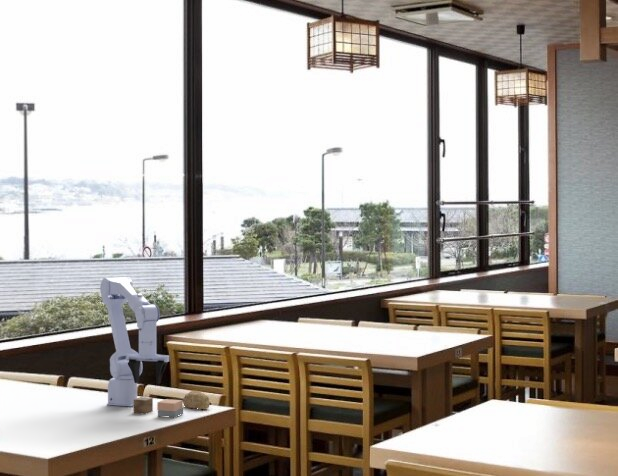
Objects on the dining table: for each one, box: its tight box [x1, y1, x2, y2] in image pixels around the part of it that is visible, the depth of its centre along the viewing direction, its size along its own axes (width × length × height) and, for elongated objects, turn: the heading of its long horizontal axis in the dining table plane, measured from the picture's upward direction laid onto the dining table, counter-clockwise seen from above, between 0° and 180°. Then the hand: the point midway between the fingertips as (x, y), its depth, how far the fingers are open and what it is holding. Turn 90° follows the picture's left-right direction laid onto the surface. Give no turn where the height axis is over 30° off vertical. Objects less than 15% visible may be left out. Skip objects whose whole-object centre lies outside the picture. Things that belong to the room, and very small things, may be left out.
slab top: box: [156, 398, 184, 411], centre depth 306 cm, size 6×6×2 cm
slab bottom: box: [157, 407, 184, 418], centre depth 306 cm, size 6×6×2 cm
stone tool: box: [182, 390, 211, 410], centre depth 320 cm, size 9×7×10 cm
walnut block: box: [133, 396, 154, 415], centre depth 312 cm, size 4×4×4 cm
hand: (147, 383), depth 312 cm, fingers open, 7 cm apart
